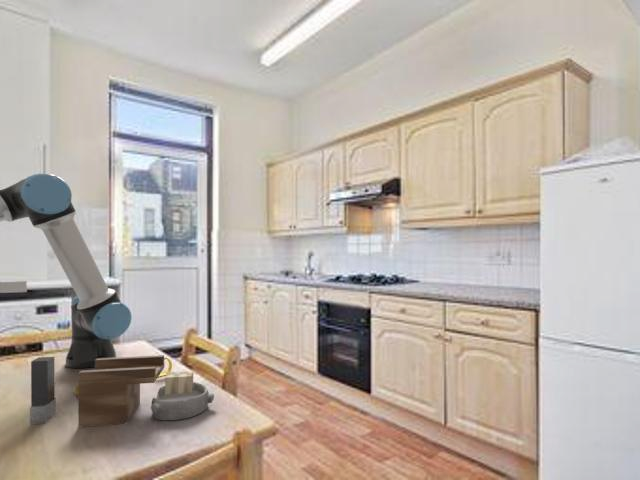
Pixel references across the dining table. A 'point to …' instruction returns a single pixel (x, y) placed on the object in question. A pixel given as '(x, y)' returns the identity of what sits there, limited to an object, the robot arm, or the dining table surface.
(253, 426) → the dining table surface
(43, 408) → the dark gray upright block
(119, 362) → the slot board
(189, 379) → the cream square block
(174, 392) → the cream block
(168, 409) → the dish
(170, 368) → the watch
